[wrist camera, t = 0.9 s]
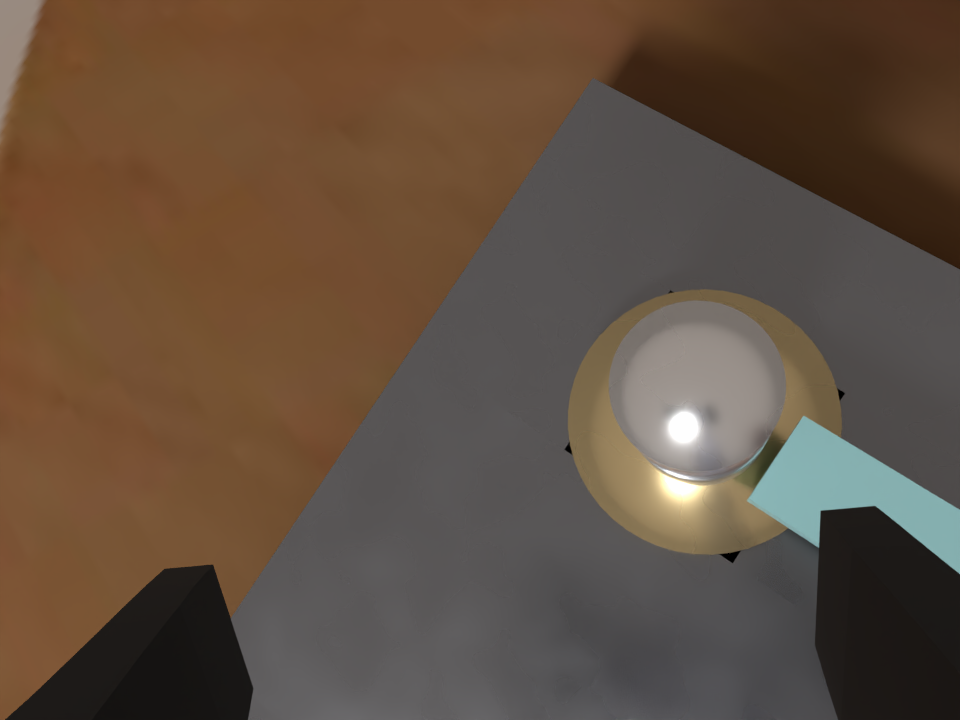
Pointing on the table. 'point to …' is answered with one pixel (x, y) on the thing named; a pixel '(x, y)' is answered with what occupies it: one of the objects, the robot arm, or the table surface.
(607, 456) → the gold disc with post
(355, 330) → the table surface
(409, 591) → the block
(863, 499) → the locking bolt
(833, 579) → the robot arm
